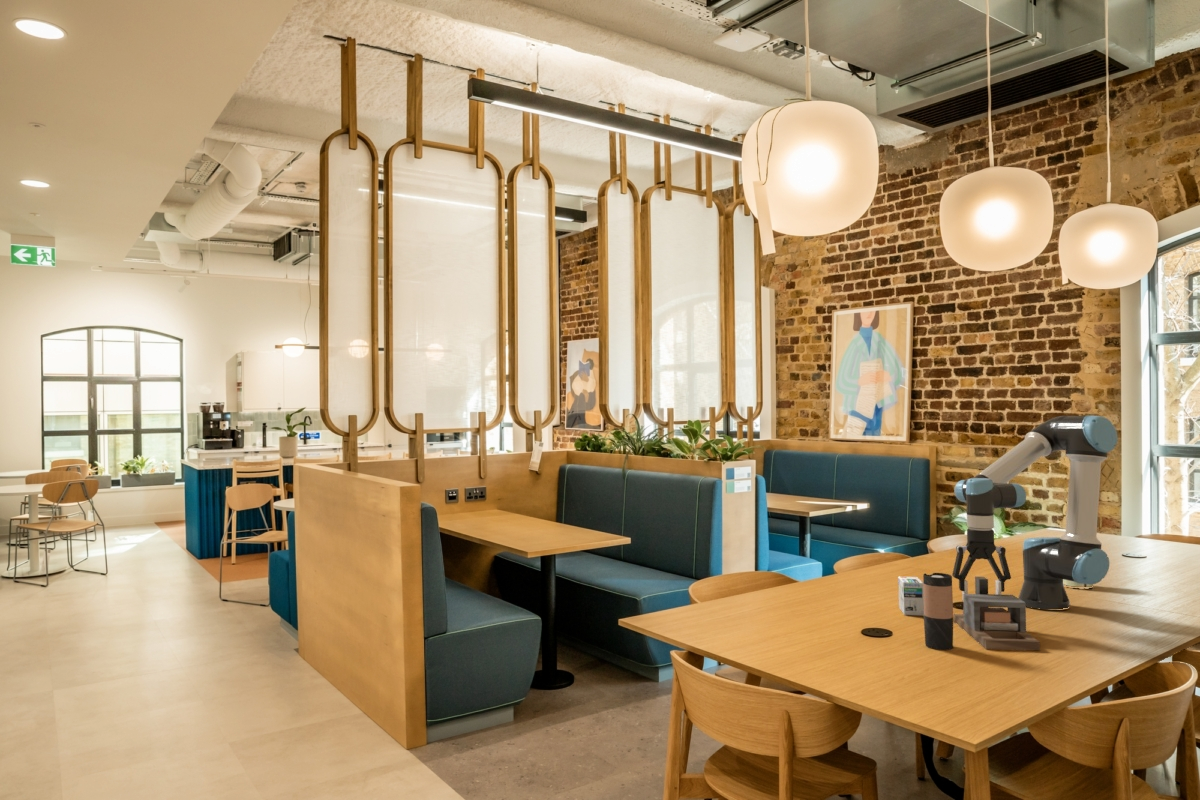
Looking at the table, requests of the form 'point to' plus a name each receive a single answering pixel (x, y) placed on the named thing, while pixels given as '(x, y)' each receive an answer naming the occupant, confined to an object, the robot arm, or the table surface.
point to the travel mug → (938, 611)
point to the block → (994, 615)
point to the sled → (982, 588)
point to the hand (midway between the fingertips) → (981, 601)
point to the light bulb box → (911, 595)
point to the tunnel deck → (996, 637)
